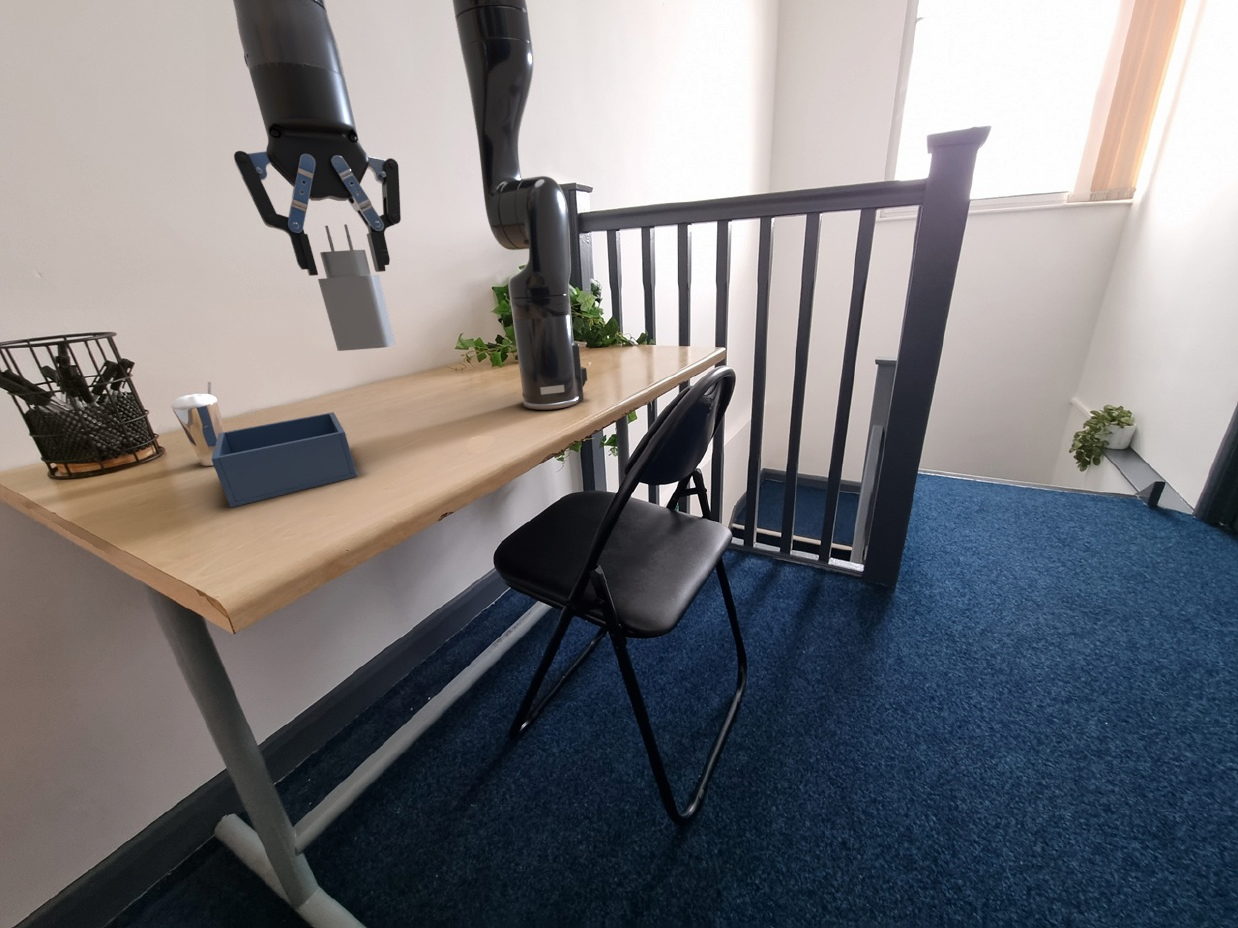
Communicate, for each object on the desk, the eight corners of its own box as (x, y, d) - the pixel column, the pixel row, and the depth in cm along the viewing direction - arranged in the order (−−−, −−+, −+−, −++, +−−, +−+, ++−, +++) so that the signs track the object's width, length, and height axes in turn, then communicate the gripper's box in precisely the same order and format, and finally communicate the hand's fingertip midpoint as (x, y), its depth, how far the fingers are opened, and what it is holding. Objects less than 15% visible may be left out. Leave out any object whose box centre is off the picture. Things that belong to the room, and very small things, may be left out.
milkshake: (251, 452, 68) (225, 381, 65) (218, 467, 63) (188, 391, 60) (221, 453, 69) (194, 382, 65) (186, 468, 64) (154, 392, 60)
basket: (344, 451, 67) (333, 412, 65) (357, 476, 58) (345, 432, 56) (234, 475, 61) (218, 433, 58) (230, 507, 52) (211, 459, 50)
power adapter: (387, 347, 53) (357, 222, 48) (335, 351, 52) (299, 225, 48) (396, 342, 56) (369, 224, 51) (347, 346, 55) (315, 227, 51)
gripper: (193, 44, 38) (266, 278, 45) (391, 70, 45) (429, 268, 52) (202, 76, 44) (265, 279, 50) (376, 94, 51) (411, 269, 58)
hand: (348, 272), depth 51 cm, fingers closed on power adapter, 5 cm apart
